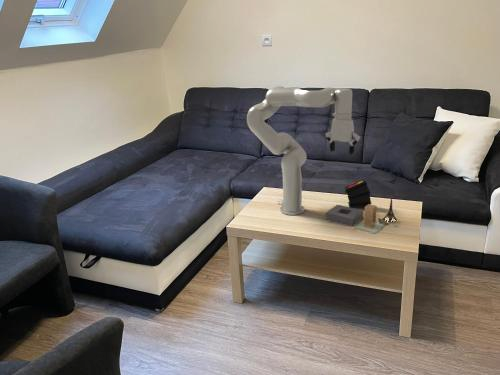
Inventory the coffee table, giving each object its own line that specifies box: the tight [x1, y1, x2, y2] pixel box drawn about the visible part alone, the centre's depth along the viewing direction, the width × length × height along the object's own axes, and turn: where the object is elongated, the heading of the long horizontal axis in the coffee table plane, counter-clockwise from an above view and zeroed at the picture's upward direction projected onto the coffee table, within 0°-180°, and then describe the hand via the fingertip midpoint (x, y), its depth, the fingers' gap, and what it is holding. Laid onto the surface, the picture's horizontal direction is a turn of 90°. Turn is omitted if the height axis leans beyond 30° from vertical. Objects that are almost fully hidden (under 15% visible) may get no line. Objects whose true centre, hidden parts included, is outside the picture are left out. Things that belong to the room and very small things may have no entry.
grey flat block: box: [325, 204, 364, 227], centre depth 211 cm, size 14×12×4 cm
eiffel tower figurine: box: [377, 196, 400, 228], centre depth 206 cm, size 15×10×13 cm
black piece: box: [344, 178, 372, 209], centre depth 222 cm, size 4×13×15 cm, turn 83°
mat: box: [354, 219, 385, 235], centre depth 201 cm, size 10×10×1 cm
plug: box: [363, 204, 378, 229], centre depth 200 cm, size 4×4×10 cm
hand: (341, 152), depth 202 cm, fingers open, 9 cm apart
